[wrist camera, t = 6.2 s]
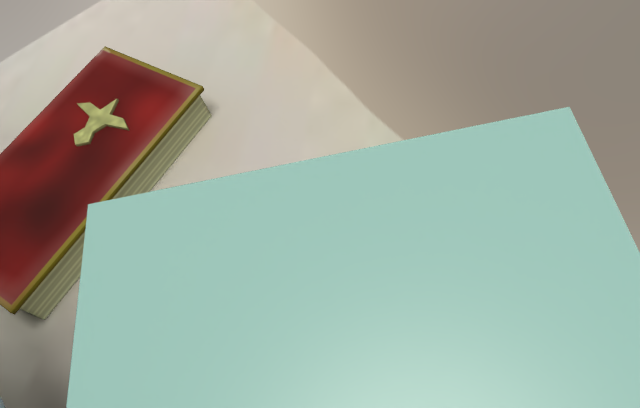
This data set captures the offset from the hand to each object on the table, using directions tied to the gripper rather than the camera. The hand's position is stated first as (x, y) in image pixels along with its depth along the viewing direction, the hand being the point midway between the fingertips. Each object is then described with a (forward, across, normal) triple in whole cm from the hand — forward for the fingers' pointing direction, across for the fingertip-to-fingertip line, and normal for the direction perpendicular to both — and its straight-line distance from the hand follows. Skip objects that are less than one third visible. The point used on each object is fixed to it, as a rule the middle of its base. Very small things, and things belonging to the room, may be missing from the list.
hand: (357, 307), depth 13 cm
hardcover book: (+29, -21, 0) cm, 36 cm away
